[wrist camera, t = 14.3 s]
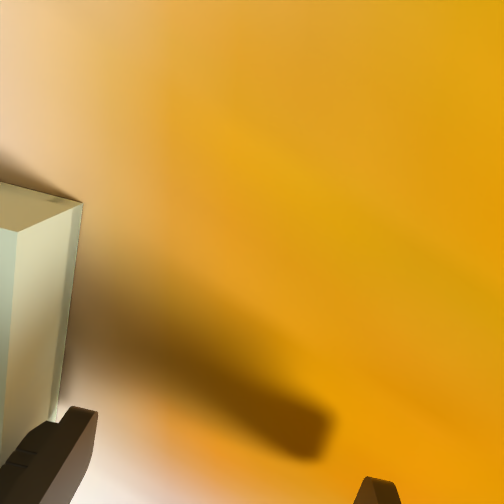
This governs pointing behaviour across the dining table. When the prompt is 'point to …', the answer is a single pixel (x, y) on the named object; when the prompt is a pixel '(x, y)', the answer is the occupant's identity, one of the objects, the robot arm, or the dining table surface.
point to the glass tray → (33, 306)
